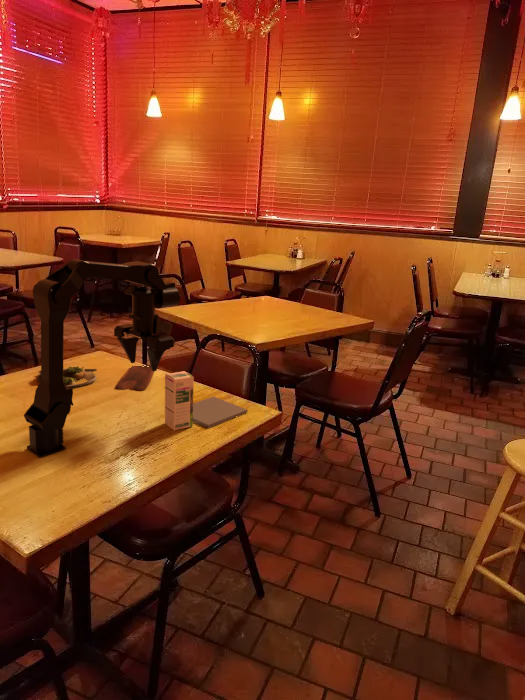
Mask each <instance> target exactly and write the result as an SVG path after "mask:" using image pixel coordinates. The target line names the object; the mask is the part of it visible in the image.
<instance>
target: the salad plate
mask: <svg viewBox="0 0 525 700" xmlns="http://www.w3.org/2000/svg"><path fill="white" fill-rule="evenodd" d="M97 370H98V369H97V368H84V366H82V367H79V366H68V367H66V368H63V381H64V384H65V385H66V386H68V387H70V388H72V389H74V388H79V386H80V387H83V386H86V384H87V385H89V384H92V383H94V382H95V381H96V380H97V379H98V377H97V376H96V374H93V372H97ZM83 378H84V379H86V380H85V382H82V383H76V382H77V381H76V380H78V381H81V380H80V379H82V380H84V379H83ZM36 380H37V381H38V384H39V383H40V381H41V370H39V371H38V374H37V375H36ZM87 380H88V381H87ZM75 381H76V382H75ZM86 381H87V382H86Z"/></svg>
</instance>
